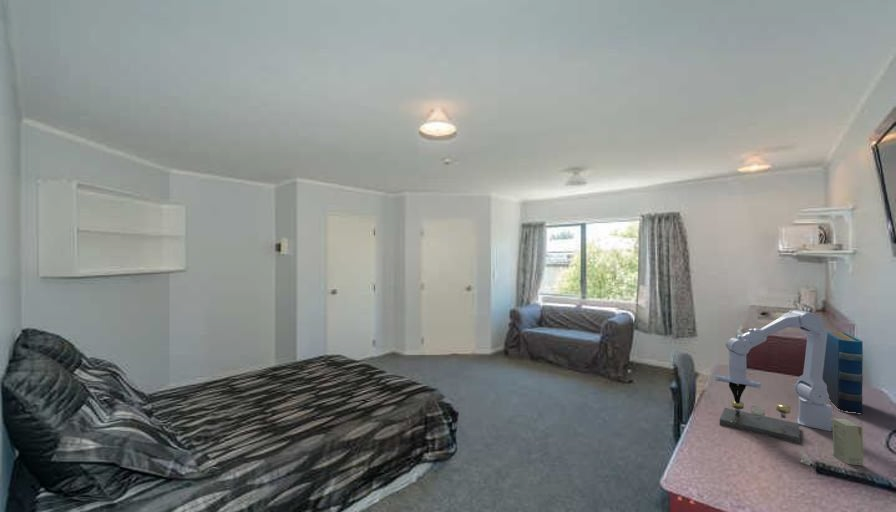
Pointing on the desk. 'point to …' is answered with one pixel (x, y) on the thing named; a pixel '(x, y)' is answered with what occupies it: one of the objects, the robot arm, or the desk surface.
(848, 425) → the skincare box
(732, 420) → the plate
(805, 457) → the adhesive hook
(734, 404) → the outer brass knob
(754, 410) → the middle white knob
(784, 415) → the inner brass knob
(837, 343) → the book
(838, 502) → the desk surface
